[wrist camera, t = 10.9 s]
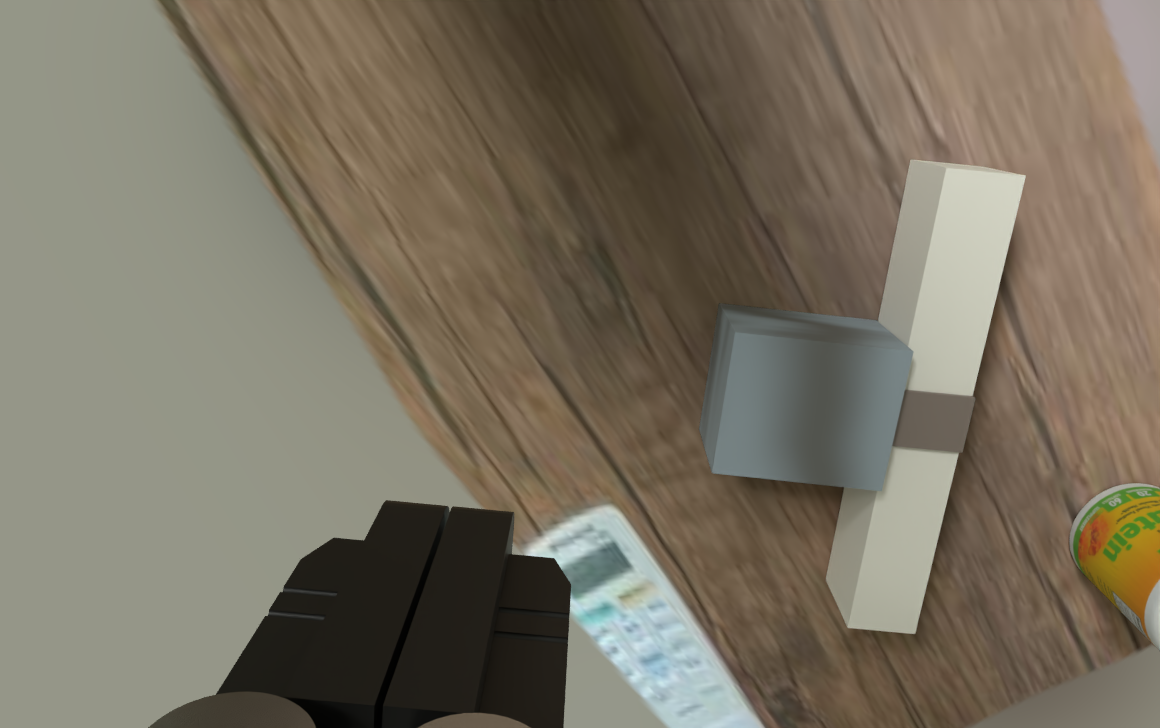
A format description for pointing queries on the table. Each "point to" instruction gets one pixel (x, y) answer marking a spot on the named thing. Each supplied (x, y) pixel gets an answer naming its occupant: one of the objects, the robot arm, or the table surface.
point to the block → (802, 397)
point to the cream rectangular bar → (925, 385)
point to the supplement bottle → (1123, 551)
